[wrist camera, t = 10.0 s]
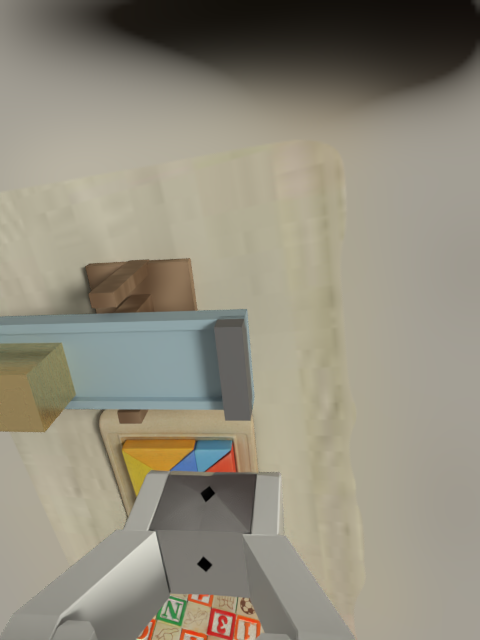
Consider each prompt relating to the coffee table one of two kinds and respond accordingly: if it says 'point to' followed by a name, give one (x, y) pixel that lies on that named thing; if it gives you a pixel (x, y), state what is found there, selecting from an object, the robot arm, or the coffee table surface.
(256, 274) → the coffee table surface
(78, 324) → the beam
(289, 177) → the coffee table surface
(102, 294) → the pivot stand
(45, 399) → the block
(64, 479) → the coffee table surface
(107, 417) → the wooden puzzle
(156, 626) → the stack of blocks
